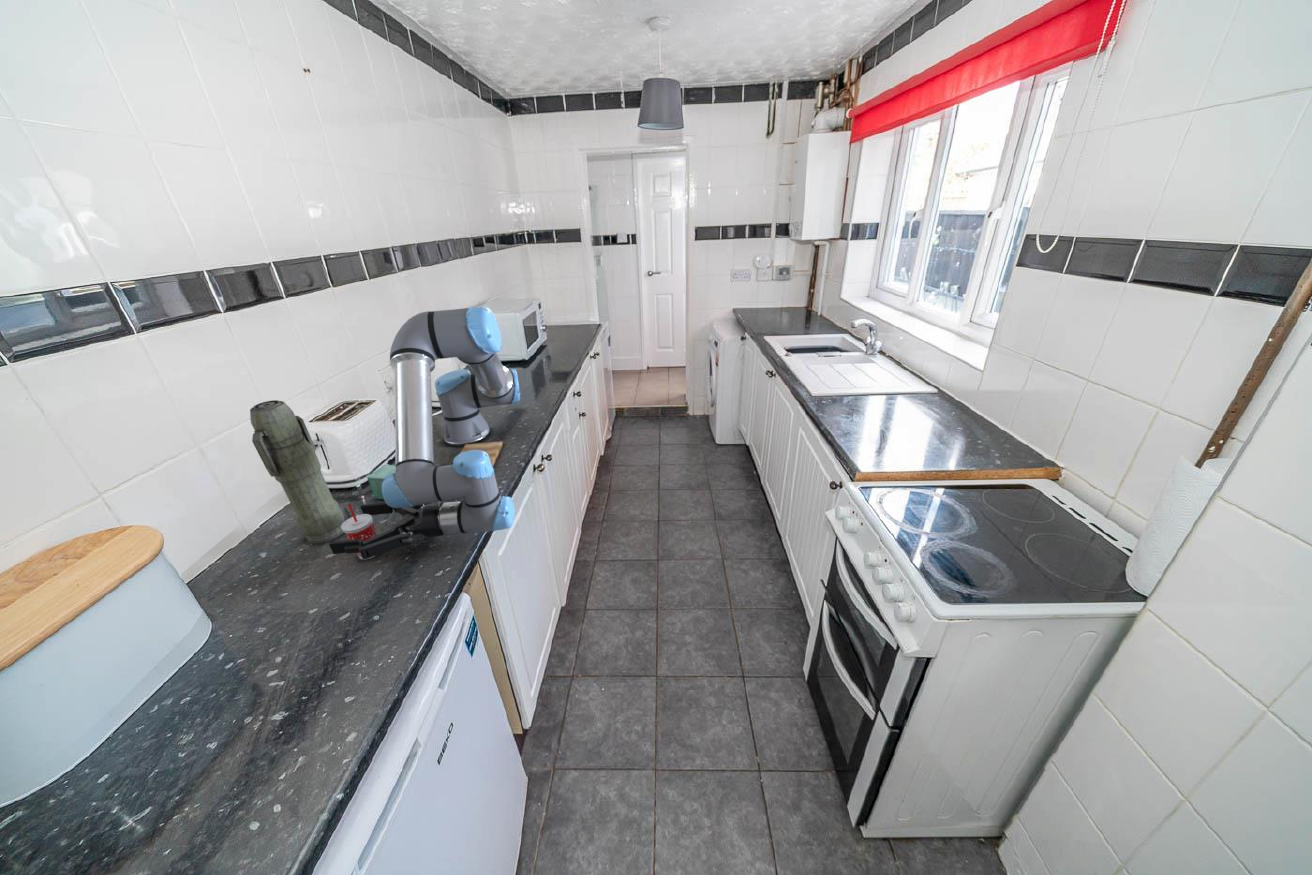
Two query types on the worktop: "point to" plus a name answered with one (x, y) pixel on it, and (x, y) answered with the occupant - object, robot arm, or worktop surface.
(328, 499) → the thermos
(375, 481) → the box
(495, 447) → the chopping board
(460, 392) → the robot arm
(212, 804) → the worktop surface
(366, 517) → the beverage cup
